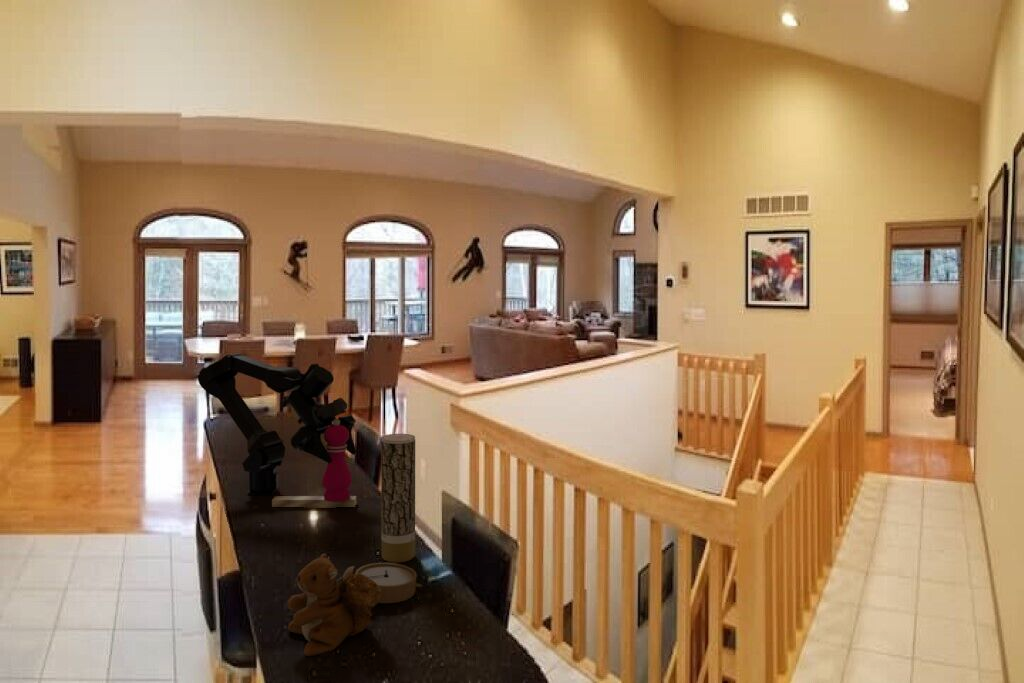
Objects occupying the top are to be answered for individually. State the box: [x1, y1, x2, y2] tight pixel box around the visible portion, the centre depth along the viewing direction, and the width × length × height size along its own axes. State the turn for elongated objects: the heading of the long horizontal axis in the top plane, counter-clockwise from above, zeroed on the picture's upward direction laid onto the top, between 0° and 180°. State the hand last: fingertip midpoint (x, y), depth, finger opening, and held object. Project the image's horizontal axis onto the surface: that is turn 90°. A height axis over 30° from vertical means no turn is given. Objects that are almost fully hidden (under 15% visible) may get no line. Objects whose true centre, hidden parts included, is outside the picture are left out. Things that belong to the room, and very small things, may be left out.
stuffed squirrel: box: [286, 553, 382, 657], centre depth 113 cm, size 10×14×13 cm
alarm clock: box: [336, 562, 423, 604], centre depth 129 cm, size 11×5×15 cm
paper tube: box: [380, 433, 416, 564], centre depth 145 cm, size 7×7×25 cm
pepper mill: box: [321, 418, 353, 502], centre depth 176 cm, size 7×7×20 cm
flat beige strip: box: [271, 495, 357, 509], centre depth 177 cm, size 20×3×2 cm, turn 93°
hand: (343, 457), depth 176 cm, fingers open, 9 cm apart
